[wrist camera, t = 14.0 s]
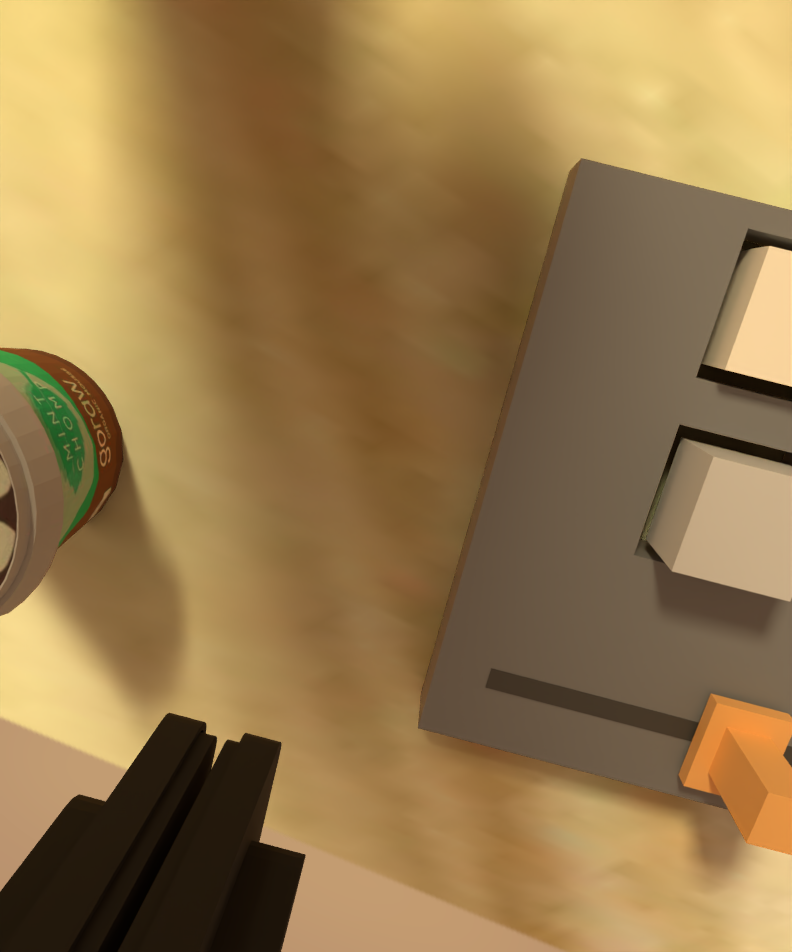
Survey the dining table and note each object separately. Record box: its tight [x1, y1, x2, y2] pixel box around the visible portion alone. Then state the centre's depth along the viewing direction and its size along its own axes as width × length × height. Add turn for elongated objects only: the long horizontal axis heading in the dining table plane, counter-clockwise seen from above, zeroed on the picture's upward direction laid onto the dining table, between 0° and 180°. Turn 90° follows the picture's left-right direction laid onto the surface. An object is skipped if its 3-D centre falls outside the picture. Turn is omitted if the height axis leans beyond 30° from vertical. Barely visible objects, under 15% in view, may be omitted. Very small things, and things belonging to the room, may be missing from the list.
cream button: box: [701, 246, 792, 387], centre depth 30 cm, size 5×5×4 cm
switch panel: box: [418, 158, 792, 809], centre depth 33 cm, size 26×20×3 cm
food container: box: [0, 348, 123, 616], centre depth 30 cm, size 12×6×10 cm, turn 32°
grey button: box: [646, 437, 792, 602], centre depth 30 cm, size 5×5×4 cm
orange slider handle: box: [678, 694, 792, 855], centre depth 31 cm, size 4×4×5 cm
